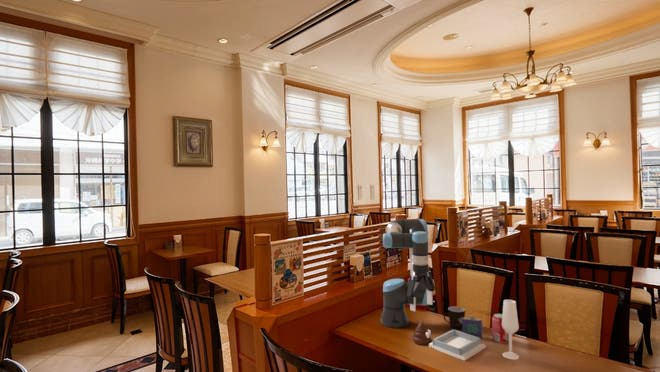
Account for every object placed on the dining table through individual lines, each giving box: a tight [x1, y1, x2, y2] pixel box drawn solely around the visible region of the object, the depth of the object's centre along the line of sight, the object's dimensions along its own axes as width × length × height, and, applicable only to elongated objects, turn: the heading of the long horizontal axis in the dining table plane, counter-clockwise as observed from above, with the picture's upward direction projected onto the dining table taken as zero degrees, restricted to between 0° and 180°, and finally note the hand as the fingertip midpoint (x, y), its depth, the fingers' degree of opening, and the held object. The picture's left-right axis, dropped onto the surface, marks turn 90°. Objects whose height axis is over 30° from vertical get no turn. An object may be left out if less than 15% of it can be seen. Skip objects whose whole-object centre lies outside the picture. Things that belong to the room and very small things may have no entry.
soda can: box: [491, 313, 509, 344], centre depth 172 cm, size 7×7×12 cm
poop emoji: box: [412, 320, 432, 346], centre depth 174 cm, size 10×8×9 cm
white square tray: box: [428, 329, 486, 362], centre depth 166 cm, size 18×18×4 cm
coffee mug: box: [443, 306, 466, 331], centre depth 188 cm, size 12×9×10 cm
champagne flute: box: [501, 299, 520, 360], centre depth 157 cm, size 7×7×24 cm
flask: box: [462, 314, 484, 339], centre depth 177 cm, size 9×3×11 cm, turn 74°
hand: (421, 307), depth 174 cm, fingers open, 13 cm apart
